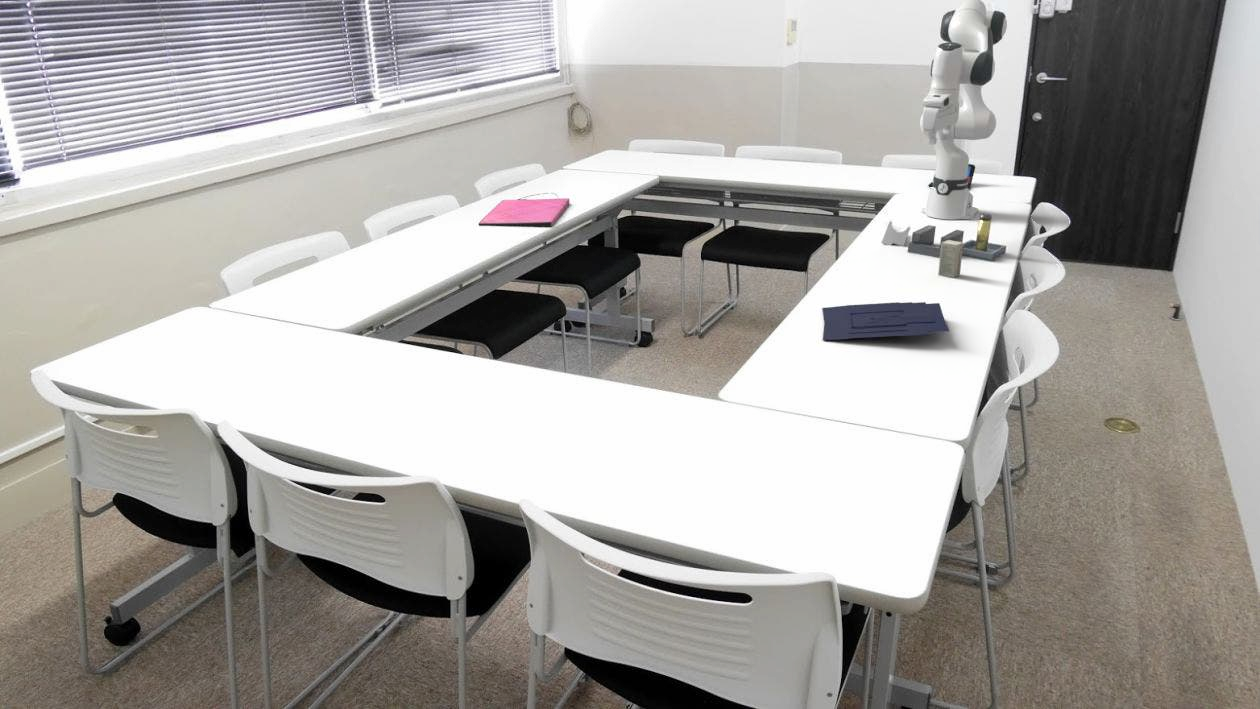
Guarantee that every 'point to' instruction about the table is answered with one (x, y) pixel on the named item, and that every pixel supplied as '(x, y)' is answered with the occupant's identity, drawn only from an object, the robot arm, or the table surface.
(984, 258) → the tray
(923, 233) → the clevis block
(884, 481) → the table surface
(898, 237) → the bracket
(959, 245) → the skincare box
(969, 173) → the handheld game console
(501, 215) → the laptop bag
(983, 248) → the pin
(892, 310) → the navy flat slab
